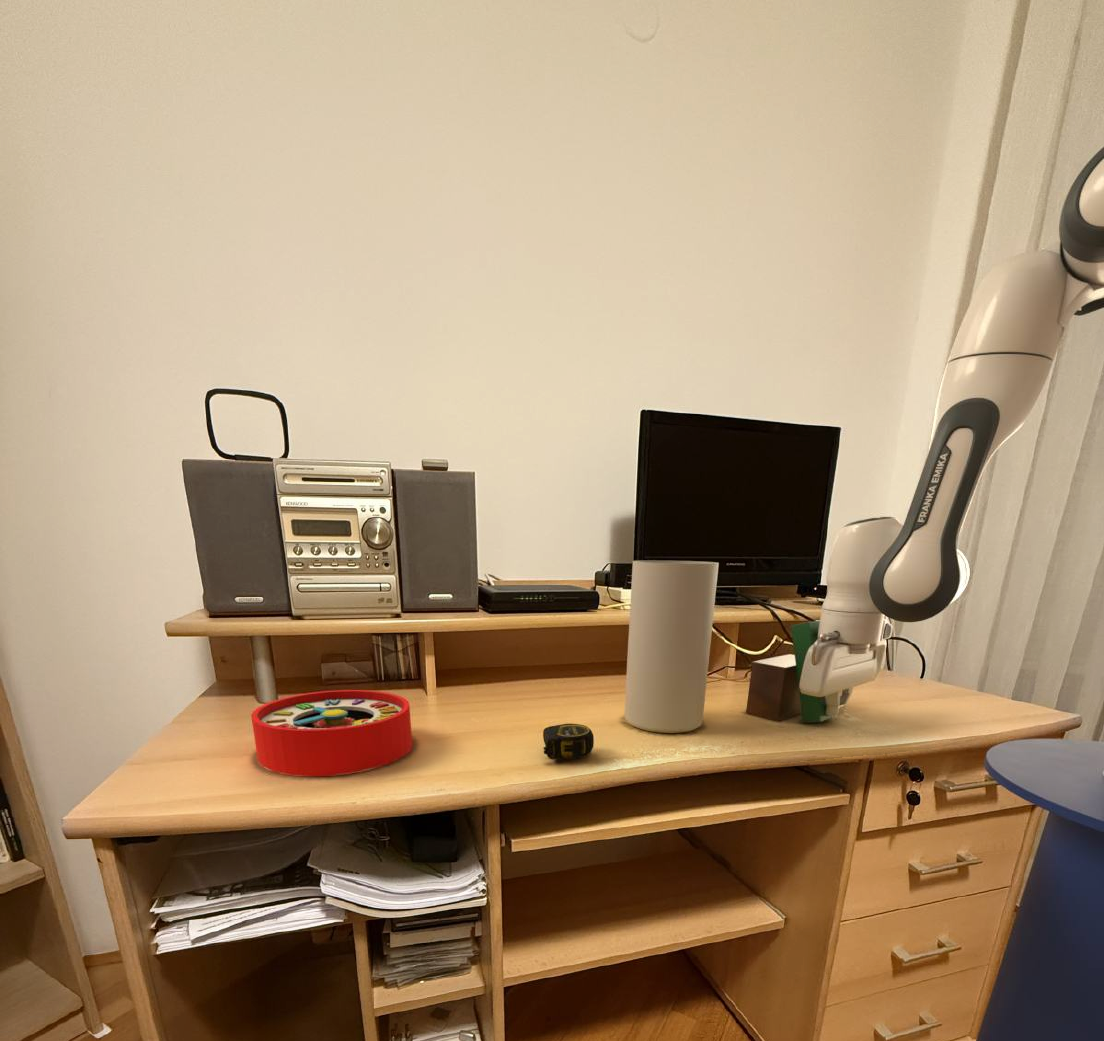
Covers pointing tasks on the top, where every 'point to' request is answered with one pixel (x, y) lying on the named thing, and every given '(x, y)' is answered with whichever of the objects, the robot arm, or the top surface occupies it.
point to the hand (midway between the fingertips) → (834, 714)
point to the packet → (802, 641)
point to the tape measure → (568, 741)
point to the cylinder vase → (669, 644)
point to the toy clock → (332, 732)
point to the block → (774, 688)
